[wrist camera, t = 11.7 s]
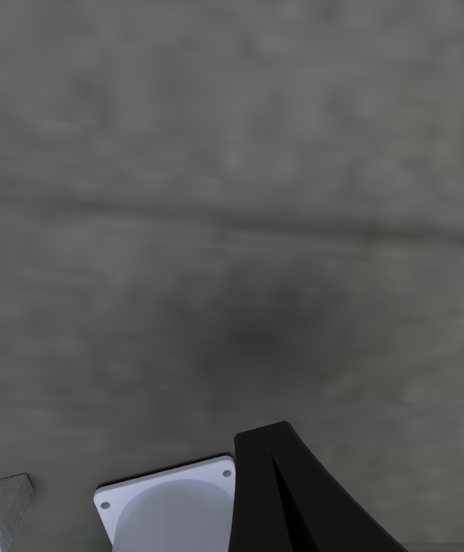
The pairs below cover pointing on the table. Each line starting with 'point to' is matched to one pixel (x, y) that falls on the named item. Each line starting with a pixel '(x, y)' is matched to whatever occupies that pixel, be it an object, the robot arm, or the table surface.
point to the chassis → (12, 506)
